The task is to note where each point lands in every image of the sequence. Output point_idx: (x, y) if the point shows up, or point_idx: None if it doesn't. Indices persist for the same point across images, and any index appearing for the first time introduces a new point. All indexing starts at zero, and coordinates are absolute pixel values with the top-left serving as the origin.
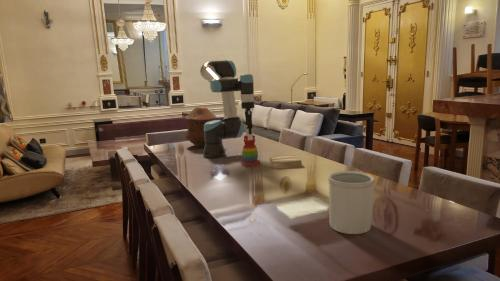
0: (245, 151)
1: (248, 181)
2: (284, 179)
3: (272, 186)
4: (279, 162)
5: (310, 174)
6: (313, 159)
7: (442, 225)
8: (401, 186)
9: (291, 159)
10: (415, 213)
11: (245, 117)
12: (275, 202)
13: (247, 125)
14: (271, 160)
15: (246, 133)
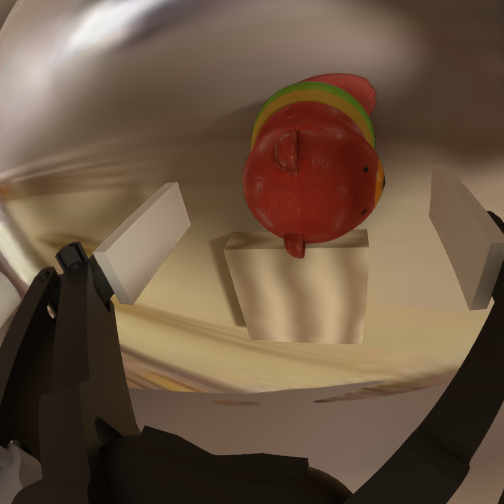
0: (259, 116)
1: (69, 148)
2: None
3: (56, 217)
4: (231, 272)
5: (167, 318)
6: (351, 365)
7: None
8: (134, 385)
9: (274, 318)
10: None
11: (407, 439)
12: (6, 219)
13: (498, 269)
14: None
15: (444, 180)
